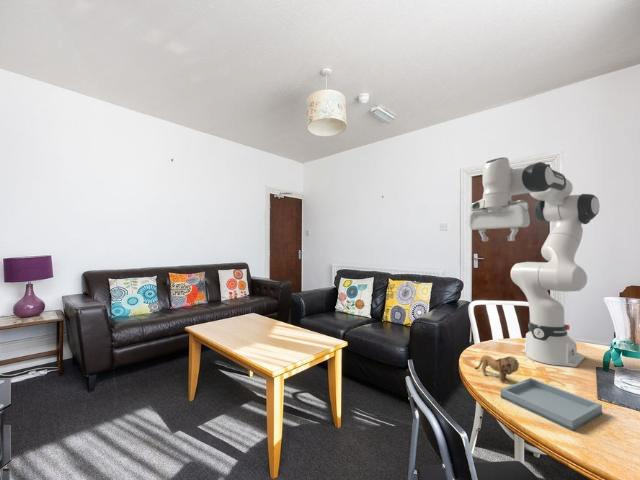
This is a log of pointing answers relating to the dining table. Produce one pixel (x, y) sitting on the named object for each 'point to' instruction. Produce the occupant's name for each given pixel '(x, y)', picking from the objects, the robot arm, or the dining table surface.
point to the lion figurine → (500, 366)
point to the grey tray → (552, 403)
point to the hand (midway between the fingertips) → (497, 241)
